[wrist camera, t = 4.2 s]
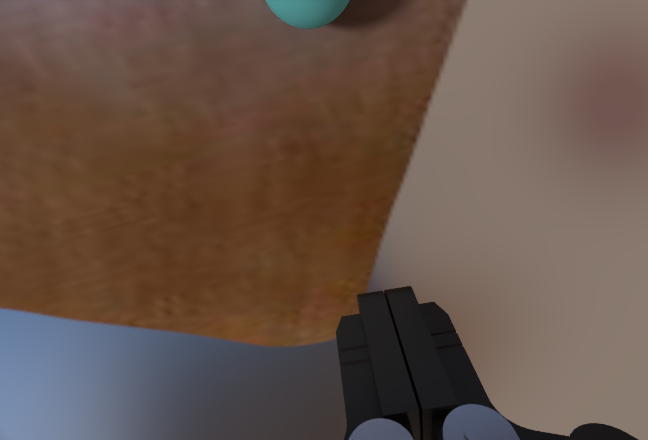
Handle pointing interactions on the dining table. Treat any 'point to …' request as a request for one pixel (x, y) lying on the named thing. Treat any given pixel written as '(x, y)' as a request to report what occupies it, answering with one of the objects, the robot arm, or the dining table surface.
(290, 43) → the dining table surface
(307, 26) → the ball
